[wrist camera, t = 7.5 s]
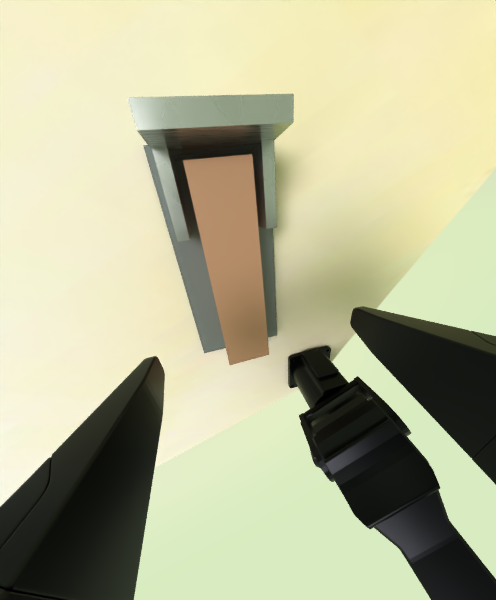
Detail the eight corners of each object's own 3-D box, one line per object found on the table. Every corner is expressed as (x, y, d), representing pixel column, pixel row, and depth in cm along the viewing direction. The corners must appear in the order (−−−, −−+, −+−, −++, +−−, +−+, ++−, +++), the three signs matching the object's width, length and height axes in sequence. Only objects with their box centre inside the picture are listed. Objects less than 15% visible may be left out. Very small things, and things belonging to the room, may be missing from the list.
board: (274, 331, 23) (277, 335, 23) (204, 348, 22) (204, 353, 21) (265, 141, 14) (268, 137, 14) (146, 149, 13) (143, 145, 12)
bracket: (262, 224, 16) (292, 230, 11) (181, 235, 15) (172, 248, 10) (257, 138, 14) (293, 93, 8) (157, 144, 13) (127, 97, 7)
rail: (257, 331, 22) (269, 354, 18) (224, 339, 21) (229, 365, 18) (239, 167, 14) (252, 154, 11) (187, 173, 14) (182, 160, 10)
